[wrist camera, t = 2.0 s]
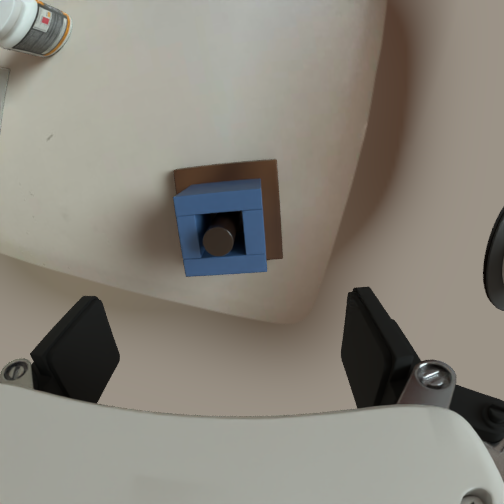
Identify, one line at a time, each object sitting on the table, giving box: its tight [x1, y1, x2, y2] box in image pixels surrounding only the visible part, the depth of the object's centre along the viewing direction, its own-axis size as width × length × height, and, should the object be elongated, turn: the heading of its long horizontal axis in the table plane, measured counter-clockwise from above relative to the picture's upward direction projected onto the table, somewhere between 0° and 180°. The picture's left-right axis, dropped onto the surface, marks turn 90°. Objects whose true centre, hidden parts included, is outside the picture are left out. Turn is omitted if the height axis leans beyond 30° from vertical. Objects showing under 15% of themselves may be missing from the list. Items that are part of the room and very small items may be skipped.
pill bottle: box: [0, 0, 72, 57], centre depth 16 cm, size 6×6×10 cm
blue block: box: [173, 178, 267, 277], centre depth 24 cm, size 6×6×6 cm
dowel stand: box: [174, 159, 283, 260], centre depth 23 cm, size 9×9×9 cm
